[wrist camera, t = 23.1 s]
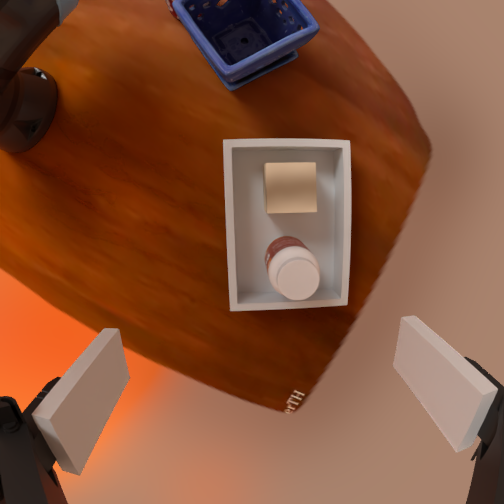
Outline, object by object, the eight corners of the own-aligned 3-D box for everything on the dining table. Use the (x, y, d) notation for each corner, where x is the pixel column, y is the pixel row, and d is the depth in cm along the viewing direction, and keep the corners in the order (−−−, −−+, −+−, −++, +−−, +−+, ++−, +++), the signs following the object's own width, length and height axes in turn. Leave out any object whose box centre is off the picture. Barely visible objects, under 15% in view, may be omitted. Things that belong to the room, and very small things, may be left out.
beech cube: (262, 165, 42) (265, 162, 36) (306, 165, 42) (315, 162, 36) (264, 209, 43) (267, 213, 37) (307, 208, 43) (316, 212, 37)
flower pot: (307, 63, 39) (326, 27, 28) (229, 104, 40) (224, 77, 29) (258, 2, 37) (262, -42, 25) (183, 40, 38) (166, 1, 26)
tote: (231, 298, 46) (230, 311, 41) (225, 144, 42) (223, 139, 37) (337, 293, 46) (347, 304, 42) (338, 144, 42) (349, 140, 37)
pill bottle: (257, 245, 44) (260, 266, 33) (297, 228, 44) (314, 243, 33) (274, 284, 45) (282, 315, 34) (313, 267, 45) (333, 293, 34)
